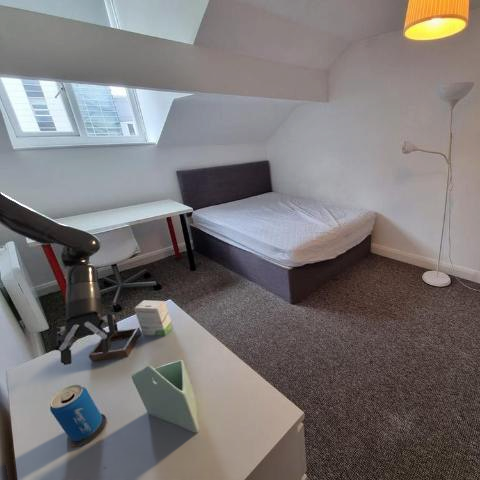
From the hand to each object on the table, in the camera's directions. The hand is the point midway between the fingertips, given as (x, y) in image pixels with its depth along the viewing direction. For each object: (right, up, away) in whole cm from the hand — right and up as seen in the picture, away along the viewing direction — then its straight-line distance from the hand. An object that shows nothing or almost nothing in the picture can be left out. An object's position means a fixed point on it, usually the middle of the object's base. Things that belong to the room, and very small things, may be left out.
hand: (87, 358), depth 72 cm
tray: (-6, -4, +19) cm, 20 cm away
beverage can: (+5, -15, -6) cm, 17 cm away
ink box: (+4, -1, +25) cm, 26 cm away
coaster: (+6, -15, -6) cm, 17 cm away
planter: (+27, -12, -2) cm, 30 cm away
